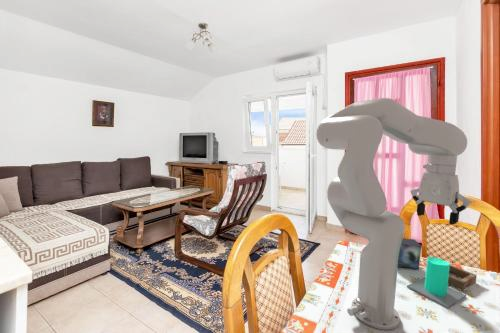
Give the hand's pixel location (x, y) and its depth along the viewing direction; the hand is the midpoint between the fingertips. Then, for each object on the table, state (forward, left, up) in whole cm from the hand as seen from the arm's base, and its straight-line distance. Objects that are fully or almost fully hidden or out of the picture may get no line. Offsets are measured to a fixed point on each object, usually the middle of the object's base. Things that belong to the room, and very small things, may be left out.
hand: (435, 219), depth 81 cm
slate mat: (-2, -3, -24) cm, 25 cm away
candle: (-2, -3, -24) cm, 24 cm away
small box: (+6, +13, -25) cm, 28 cm away
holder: (+12, -2, -24) cm, 27 cm away
